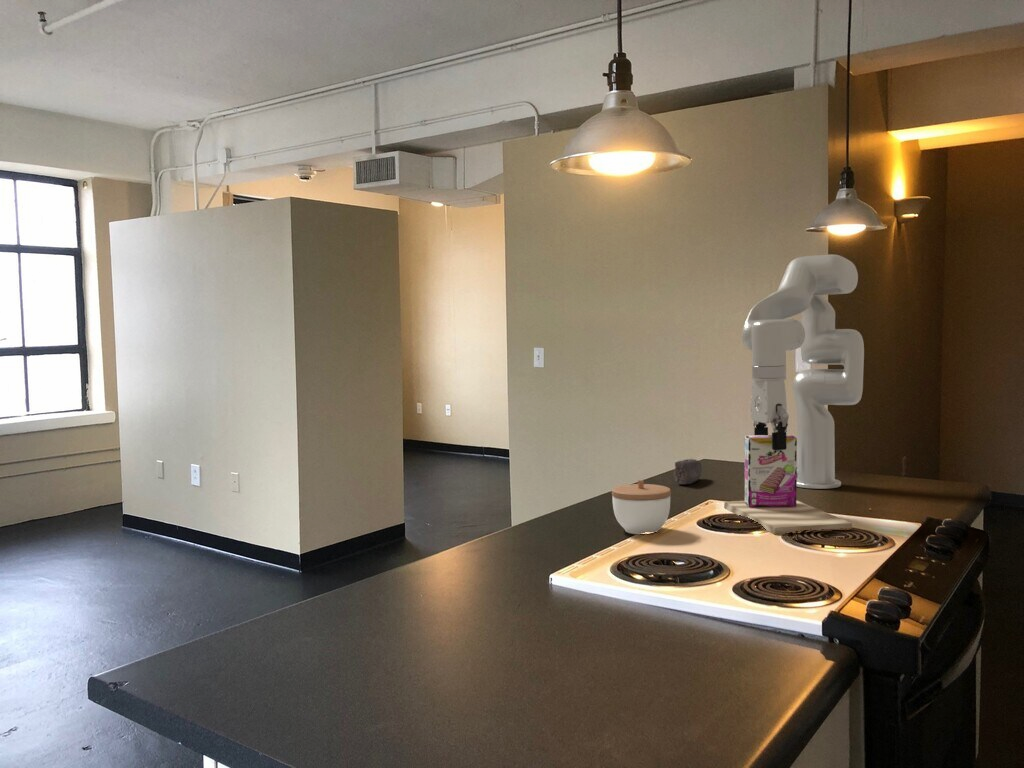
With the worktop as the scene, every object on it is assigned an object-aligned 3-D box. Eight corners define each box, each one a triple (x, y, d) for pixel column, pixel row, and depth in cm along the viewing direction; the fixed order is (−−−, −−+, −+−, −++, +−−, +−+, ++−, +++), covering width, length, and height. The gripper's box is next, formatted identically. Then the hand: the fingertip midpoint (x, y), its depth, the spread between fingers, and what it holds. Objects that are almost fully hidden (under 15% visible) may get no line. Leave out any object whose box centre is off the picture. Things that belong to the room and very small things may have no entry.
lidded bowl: (680, 535, 174) (679, 483, 173) (622, 539, 171) (621, 486, 171) (659, 522, 186) (658, 474, 185) (605, 526, 184) (604, 477, 183)
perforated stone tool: (692, 478, 243) (692, 454, 242) (709, 479, 239) (708, 455, 239) (669, 486, 231) (668, 461, 230) (686, 487, 228) (686, 462, 227)
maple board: (724, 507, 200) (724, 501, 199) (791, 504, 201) (791, 498, 201) (774, 534, 172) (774, 527, 172) (851, 530, 174) (851, 523, 174)
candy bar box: (748, 507, 192) (747, 437, 191) (744, 503, 197) (743, 435, 196) (798, 507, 191) (797, 436, 190) (792, 502, 196) (791, 434, 195)
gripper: (738, 372, 200) (740, 442, 201) (769, 376, 183) (770, 453, 184) (768, 371, 201) (769, 441, 202) (801, 374, 184) (802, 451, 185)
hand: (770, 446), depth 193 cm, fingers open, 9 cm apart
